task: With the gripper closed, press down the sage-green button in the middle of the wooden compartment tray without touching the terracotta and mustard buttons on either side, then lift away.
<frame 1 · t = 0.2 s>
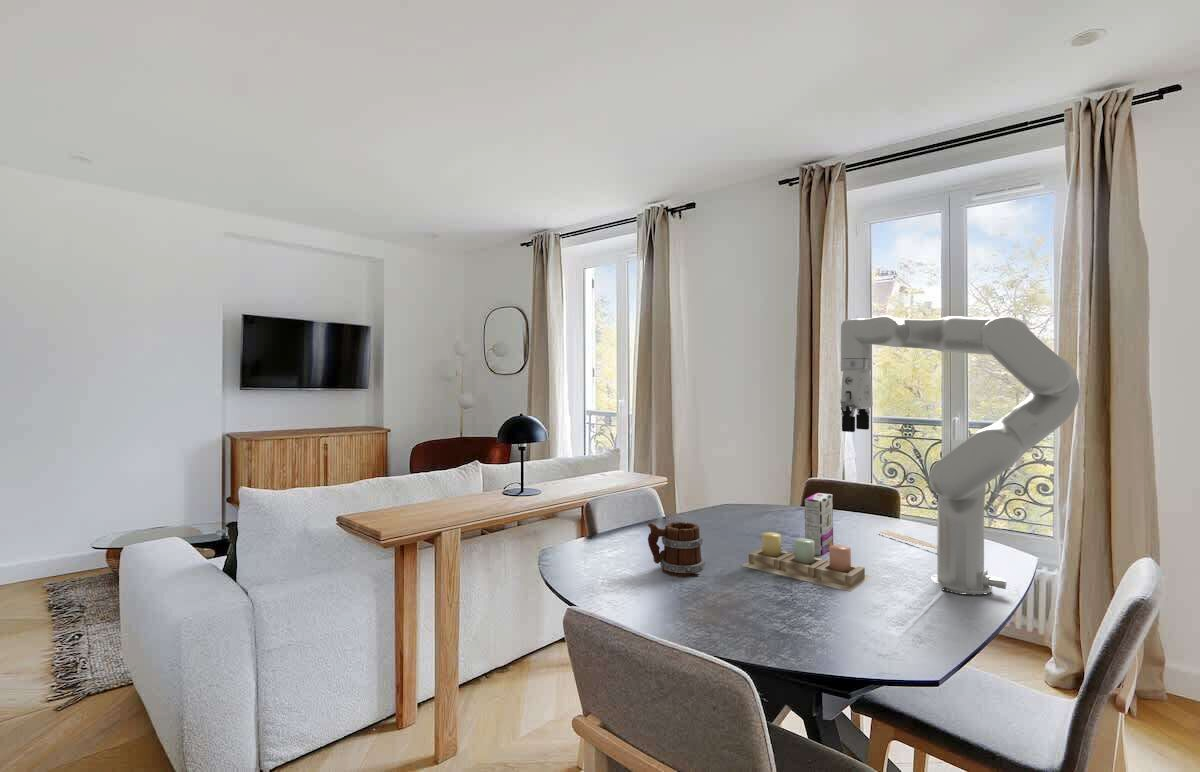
hand: (855, 430, 157), 36 cm above the table, tool pointing down, fingers open, 9 cm apart
sage button: (804, 550, 150), point 6 cm above the table, slide at 0.0 cm
mug: (676, 572, 154), on the table
mustard button: (771, 544, 156), point 6 cm above the table, slide at 0.0 cm
candy bar box: (819, 554, 169), on the table
wooden compartment tray: (804, 575, 150), on the table
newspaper: (915, 546, 179), on the table
terracotta button: (840, 557, 144), point 6 cm above the table, slide at 0.0 cm
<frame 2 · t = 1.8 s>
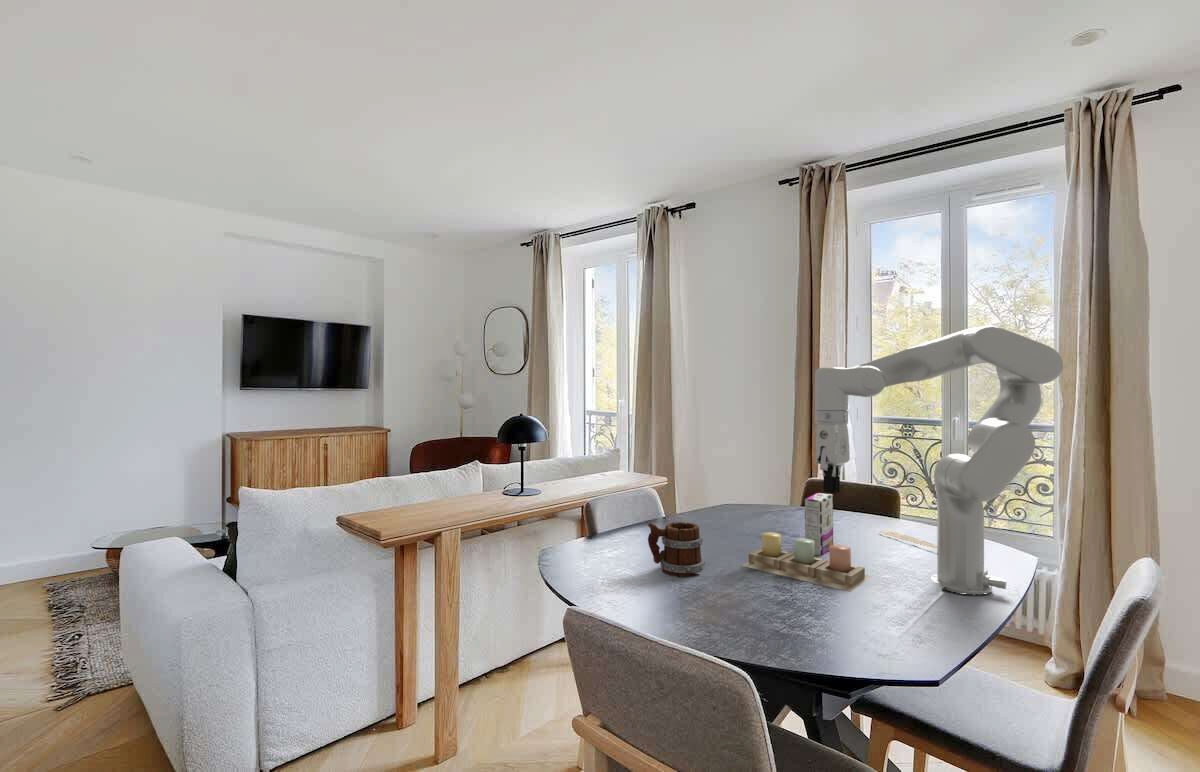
hand: (831, 492, 145), 22 cm above the table, tool pointing down, fingers closed
nothing on the table moved.
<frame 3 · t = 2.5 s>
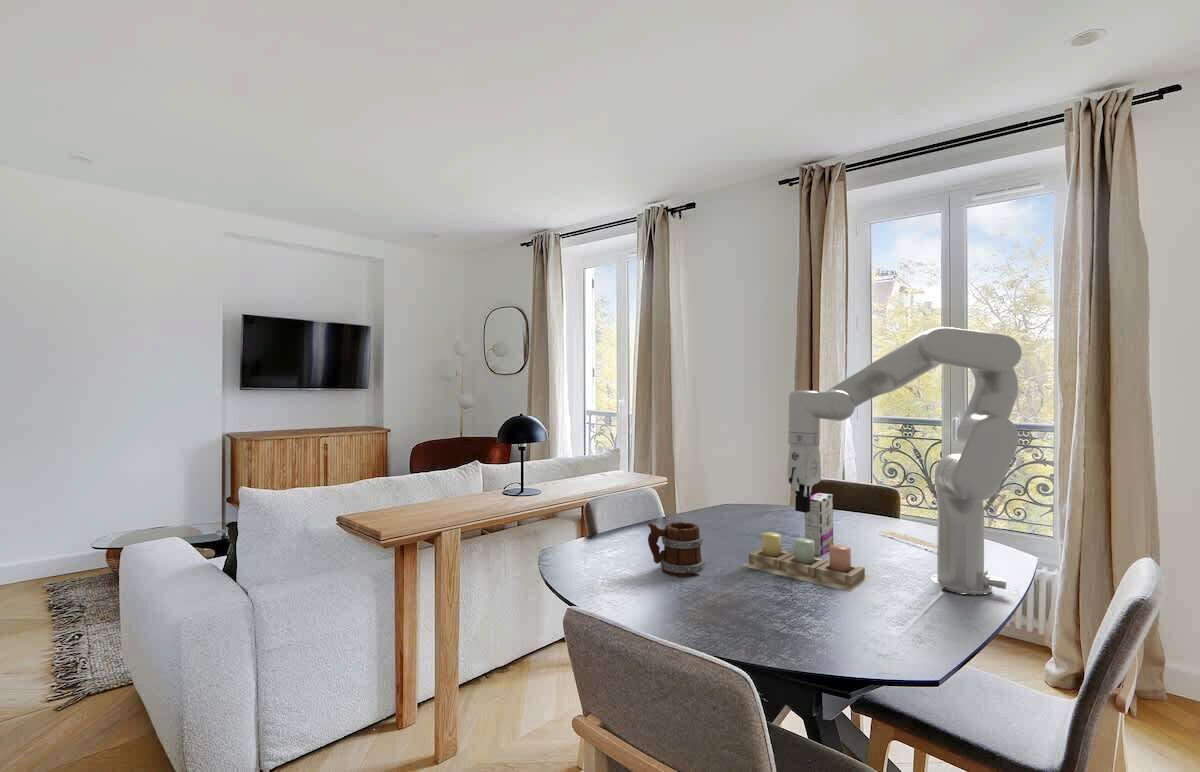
hand: (802, 511, 150), 16 cm above the table, tool pointing down, fingers closed
nothing on the table moved.
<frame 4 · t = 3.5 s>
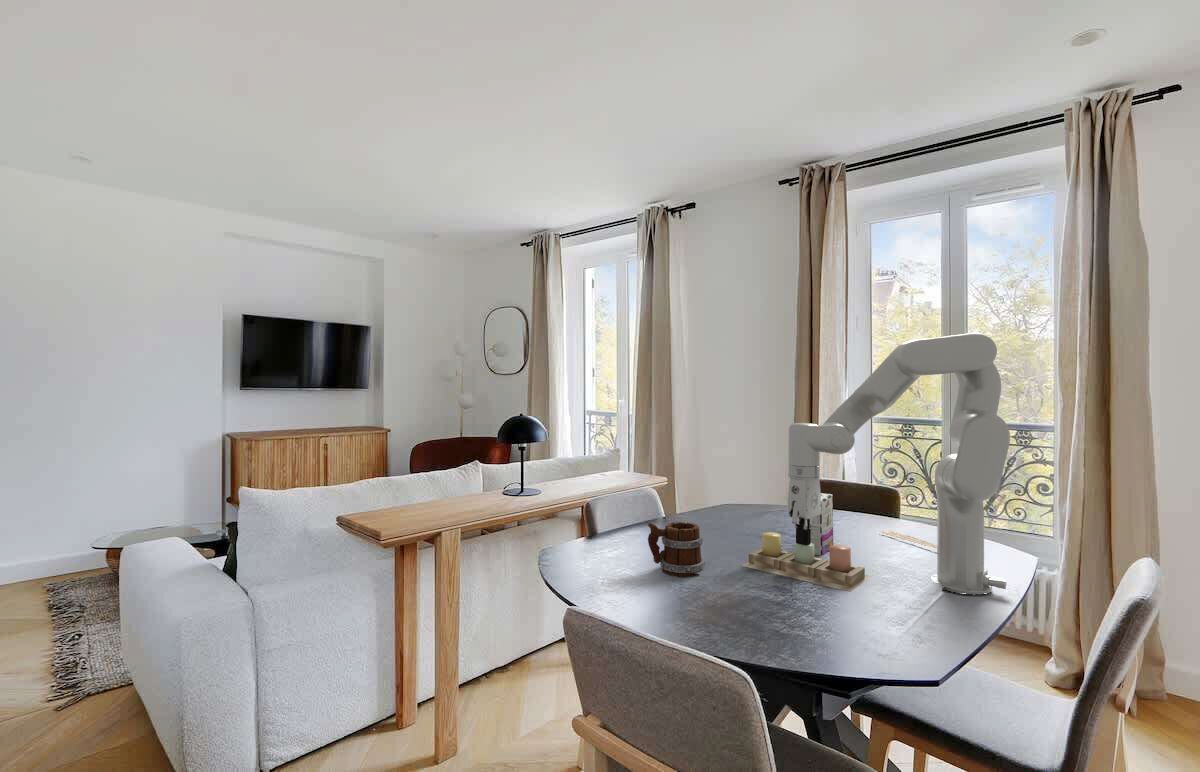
hand: (803, 543, 150), 8 cm above the table, tool pointing down, fingers closed
sage button: (804, 553, 150), point 5 cm above the table, slide at -0.8 cm, touching gripper
everything else where it was.
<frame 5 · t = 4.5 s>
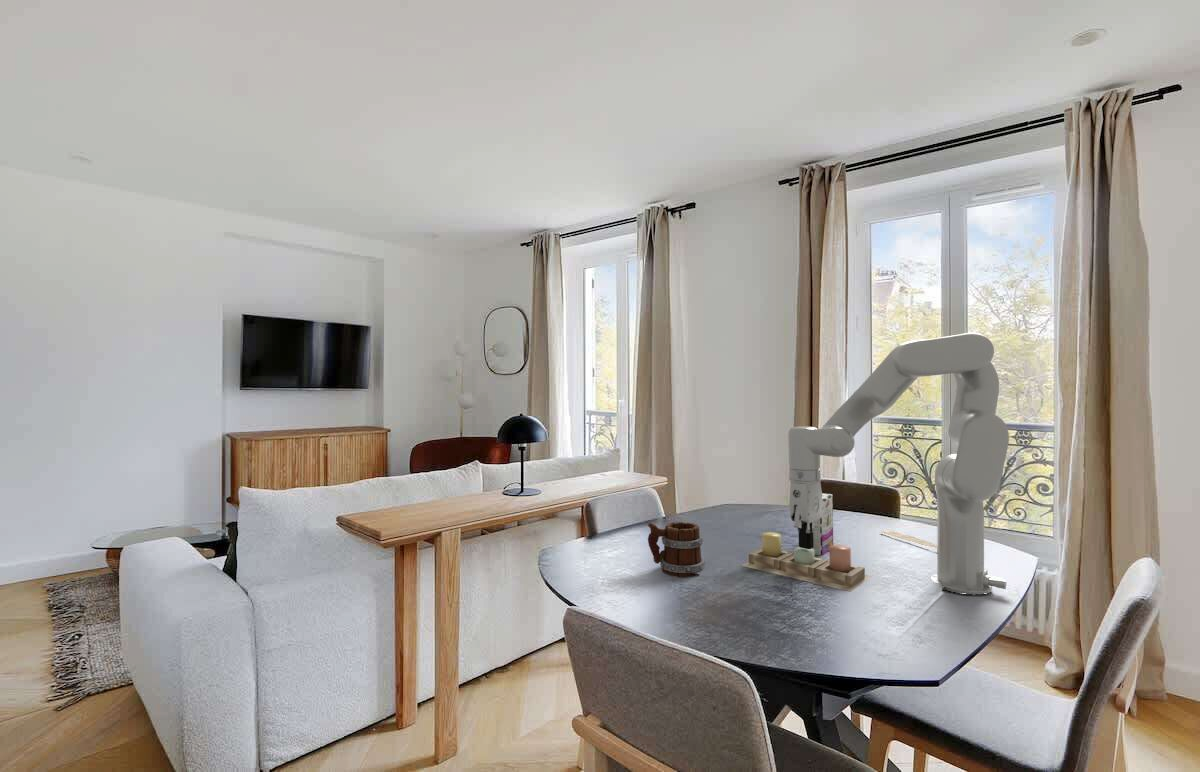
hand: (806, 547, 150), 7 cm above the table, tool pointing down, fingers closed
sage button: (804, 559, 150), point 4 cm above the table, slide at -2.3 cm
everything else where it was.
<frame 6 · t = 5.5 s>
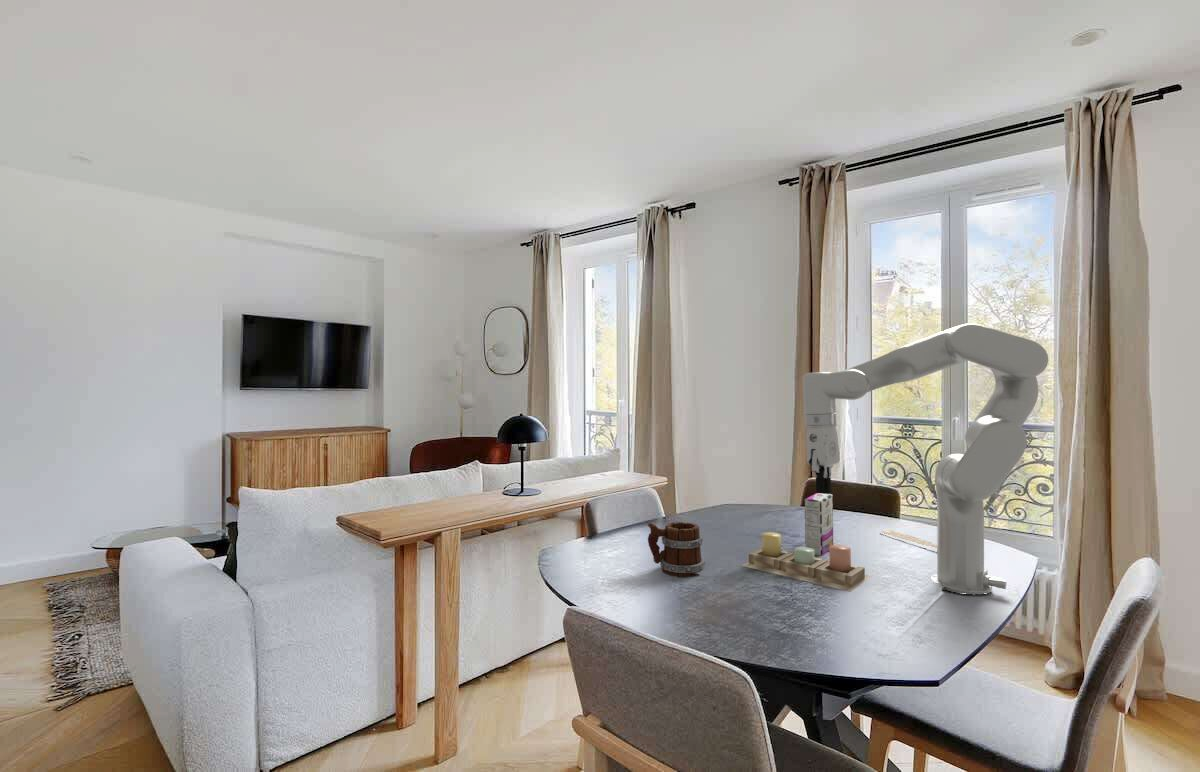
hand: (823, 492, 150), 21 cm above the table, tool pointing down, fingers closed
nothing on the table moved.
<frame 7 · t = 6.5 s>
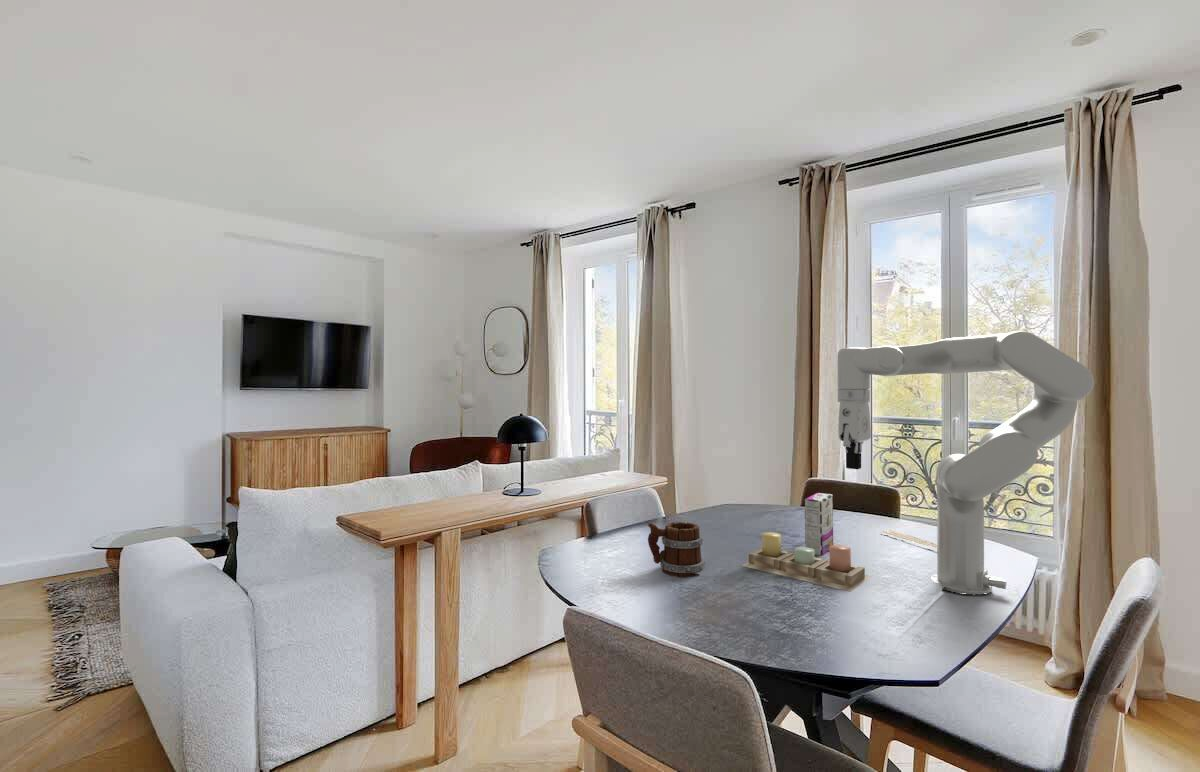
hand: (853, 468, 150), 27 cm above the table, tool pointing down, fingers closed
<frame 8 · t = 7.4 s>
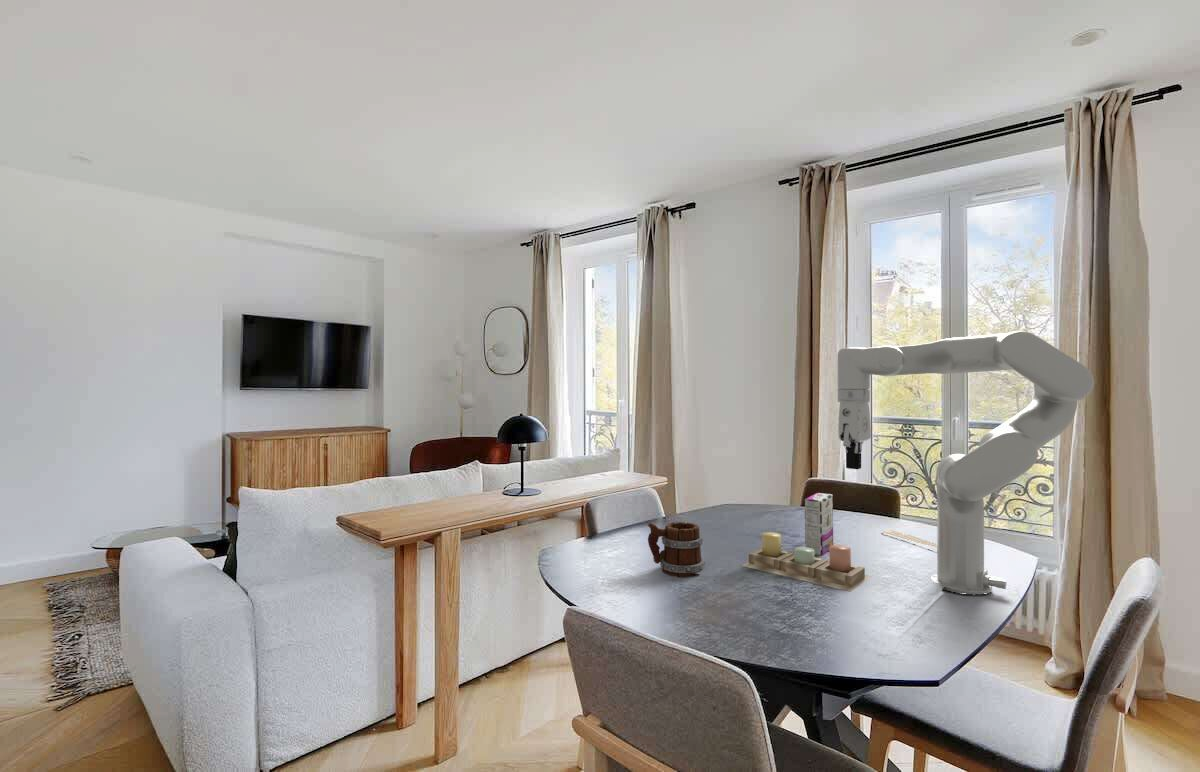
hand: (853, 468, 150), 27 cm above the table, tool pointing down, fingers closed
at the end: sage button slide at -2.3 cm; terracotta button slide at 0.0 cm; mustard button slide at 0.0 cm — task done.
